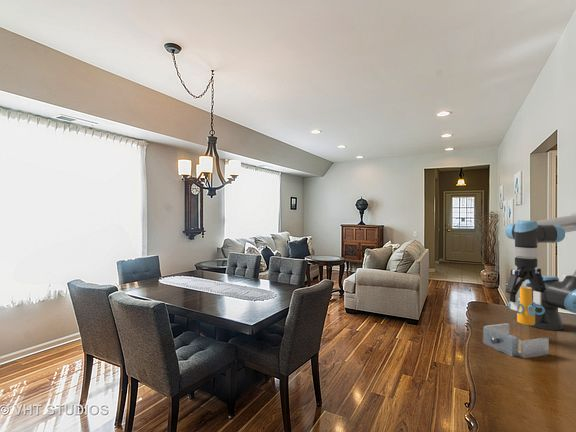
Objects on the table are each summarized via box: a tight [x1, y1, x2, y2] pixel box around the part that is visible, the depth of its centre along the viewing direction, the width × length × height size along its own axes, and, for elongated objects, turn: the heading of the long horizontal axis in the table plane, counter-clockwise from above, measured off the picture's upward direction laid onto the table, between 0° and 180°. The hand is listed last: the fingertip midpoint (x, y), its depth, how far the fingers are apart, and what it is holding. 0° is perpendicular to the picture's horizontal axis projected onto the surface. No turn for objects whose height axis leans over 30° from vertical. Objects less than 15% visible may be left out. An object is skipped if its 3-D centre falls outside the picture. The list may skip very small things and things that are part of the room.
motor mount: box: [482, 323, 550, 359], centre depth 118 cm, size 17×16×6 cm
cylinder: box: [507, 285, 545, 326], centre depth 128 cm, size 12×10×15 cm
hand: (525, 308), depth 128 cm, fingers closed on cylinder, 12 cm apart
